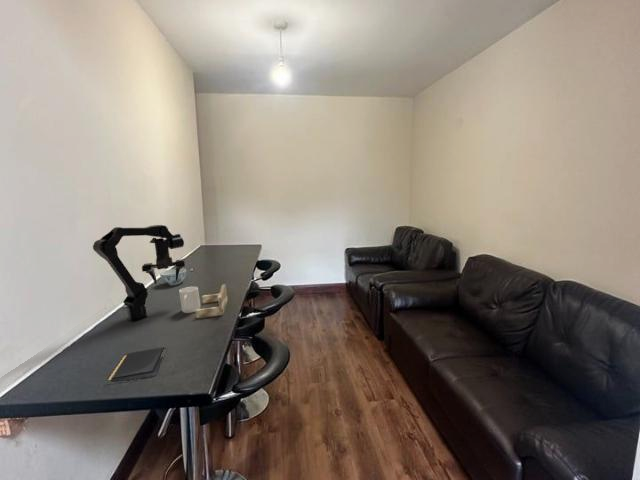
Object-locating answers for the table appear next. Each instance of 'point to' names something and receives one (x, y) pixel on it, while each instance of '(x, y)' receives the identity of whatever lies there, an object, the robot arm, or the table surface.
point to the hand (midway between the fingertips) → (166, 282)
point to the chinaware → (173, 276)
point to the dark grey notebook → (138, 365)
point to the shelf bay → (214, 298)
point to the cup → (189, 299)
